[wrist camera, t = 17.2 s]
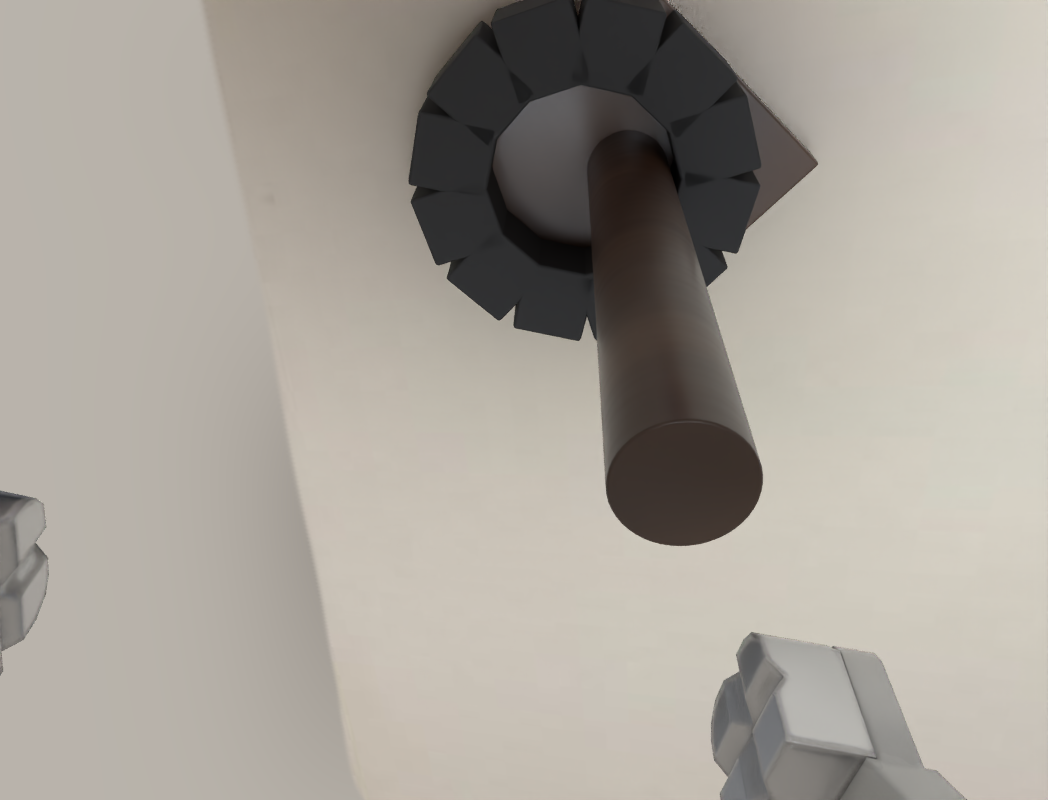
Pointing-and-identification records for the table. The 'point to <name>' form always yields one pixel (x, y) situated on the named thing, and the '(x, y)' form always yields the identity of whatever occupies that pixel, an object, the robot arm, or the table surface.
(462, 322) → the table surface
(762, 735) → the robot arm
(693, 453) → the post
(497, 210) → the ring
